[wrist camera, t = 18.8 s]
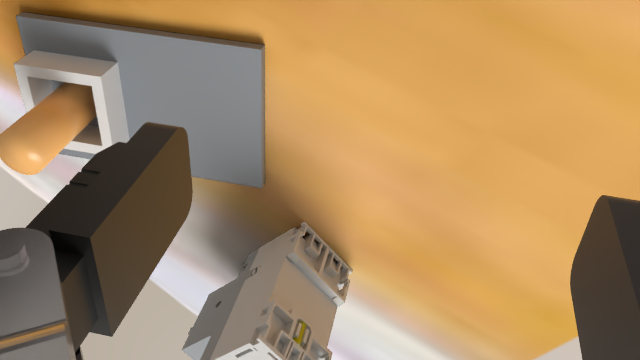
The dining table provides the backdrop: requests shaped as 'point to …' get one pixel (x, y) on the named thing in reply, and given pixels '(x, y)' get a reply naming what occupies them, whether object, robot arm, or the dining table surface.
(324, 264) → the circuit breaker
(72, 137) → the wooden peg
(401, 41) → the dining table surface
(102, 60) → the lockout board
